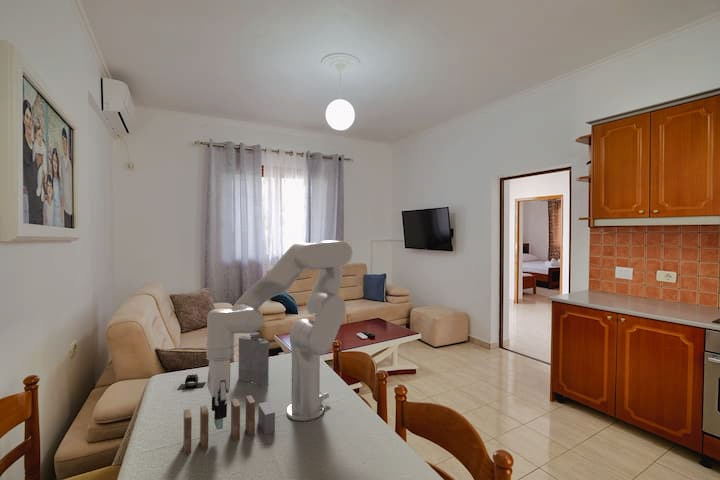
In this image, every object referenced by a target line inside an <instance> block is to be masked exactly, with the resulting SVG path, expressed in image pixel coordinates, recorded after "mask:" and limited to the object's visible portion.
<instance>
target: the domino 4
mask: <svg viewBox="0 0 720 480" xmlns="http://www.w3.org/2000/svg"><path fill="white" fill-rule="evenodd" d="M230 400H231V401H230V402H231V403H230V407H231V408H230V433H231V437H232V439H233V441H238V440H240V439H241V404H240V402H239V400H238V399H237V398H233V399H230Z"/></svg>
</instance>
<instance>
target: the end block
mask: <svg viewBox="0 0 720 480" xmlns="http://www.w3.org/2000/svg"><path fill="white" fill-rule="evenodd" d="M257 411H258V413H257V414H258V417H257V423H258V425H259V426H260V428H261V430H262V431H263V433H264V434H263V435H268V434H272V433H275V432H276V411H275V410H274V409H273V406H271V404H270V403H269V401H265V402H259V403H258V409H257Z"/></svg>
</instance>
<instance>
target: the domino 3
mask: <svg viewBox="0 0 720 480" xmlns="http://www.w3.org/2000/svg"><path fill="white" fill-rule="evenodd" d="M219 393H220V392H218V394H219ZM220 397H221V396H218V400H219V398H220ZM215 405H216V395H215ZM213 412H214V415H215V411H213ZM213 419H214V421H213V422H214V425H215V428H216V430H217V431H218V430H219V431H220V430H221V429H224V418H222V419H217V420H215V418H214V417H213Z"/></svg>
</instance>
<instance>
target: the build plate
mask: <svg viewBox="0 0 720 480" xmlns="http://www.w3.org/2000/svg"><path fill="white" fill-rule="evenodd" d="M199 380H200V378H199V375H198V374H197V373H196V374H195V373H194V374H187V376H186V377H185V381H184V383H181V384H180V385H179V387H178V388H177V391H182V390H183V391H184V390H192V389H203V388H205V386H206V384H207V382H206V381H202V382H199Z"/></svg>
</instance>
